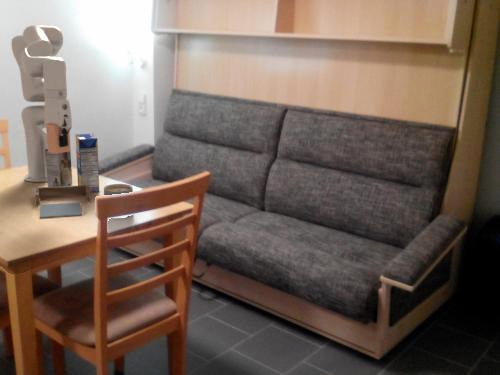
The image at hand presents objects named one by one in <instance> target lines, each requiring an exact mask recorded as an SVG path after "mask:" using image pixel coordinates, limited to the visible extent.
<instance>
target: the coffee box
mask: <svg viewBox="0 0 500 375" xmlns="http://www.w3.org/2000/svg"><path fill="white" fill-rule="evenodd" d="M45 155H46V169H47V181H46V182H47V187H63V186H70V185H71V184H72V183H73V172H72V171H73V170H72V169H73V168H72V152H71V151H69V152H63V153H58V154H55V153H51V152H48V149H46V150H45Z"/></svg>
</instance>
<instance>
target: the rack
mask: <svg viewBox="0 0 500 375" xmlns="http://www.w3.org/2000/svg"><path fill="white" fill-rule="evenodd" d="M34 197H35V205H36V206H40V205H41V204H40V203H41V202H40V201H41V199H55V198H70V197H71V198H72V197H86V199H85V200H86V203H91V193H90V190H89V185H83V186H78V185H67V186H63V187H48V186H47V187H46V186H45V187H35V193H34Z"/></svg>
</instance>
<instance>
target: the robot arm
mask: <svg viewBox="0 0 500 375" xmlns="http://www.w3.org/2000/svg"><path fill="white" fill-rule="evenodd" d="M63 44H64V36H63V32H62V31H61V29H60V28H59V27H57V26H54V25H39V24H38V25H29V26H27V27H26V28H25V29H23V32H22V34H21V35H16V36H14V37H12V39H11V42H10V45H11V50H12V53H13V54H12V55H13V56H14V59H15V62H16V63H17V65H18V68H19V73H20V81H21V89H22V90H21V91H22V96H23V99H24V100H25V101H26V102H28V103H44V104H39V105H28V106H26V107H24V108H23V109H22V111H21V119H22V125H23V129H24V130H23V131H24V134H25V136H24V137H25V147H26V161H27V162H26V163H27V171H28V172H27V175H24V180H25V181H27V182H30V183H44V182H45V183H46V182H47V169H46V155H45V150H46V149H48V147H47V132H46V131H44V130H43V129H46V124H52V125H57V127H59V133H60V136H59V146H60V147H65V146H68V133H69V131H71V129H72V125H73V123H72V122H73V121H72V112H71V106H70V101H69V99H68V88H67V65H66V62H65V60H64V59H63V58H62V57H60V56H57V55H58V54H59V52H60V50H61V49H62V48H63V47H62V46H63ZM63 125H64V126H63ZM62 126H63V127H62ZM63 128H64V130H63V131H62V129H63Z"/></svg>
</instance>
